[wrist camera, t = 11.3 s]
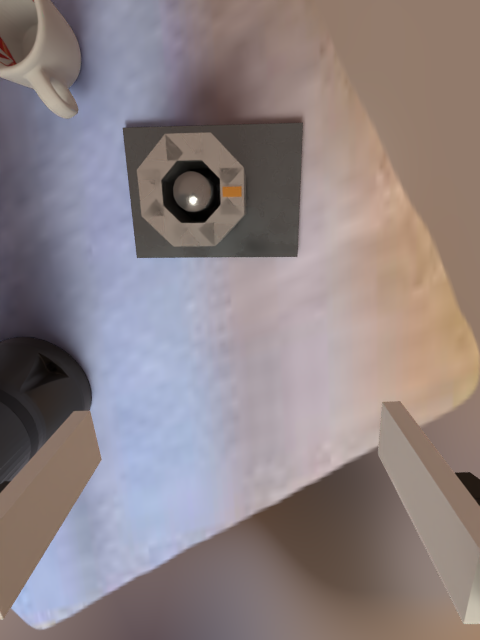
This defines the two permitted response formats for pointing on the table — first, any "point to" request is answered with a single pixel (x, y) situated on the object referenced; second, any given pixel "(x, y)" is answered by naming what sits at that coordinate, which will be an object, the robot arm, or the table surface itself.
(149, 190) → the ring
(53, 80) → the cup
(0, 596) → the robot arm
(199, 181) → the plate with peg
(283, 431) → the table surface
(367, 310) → the table surface
